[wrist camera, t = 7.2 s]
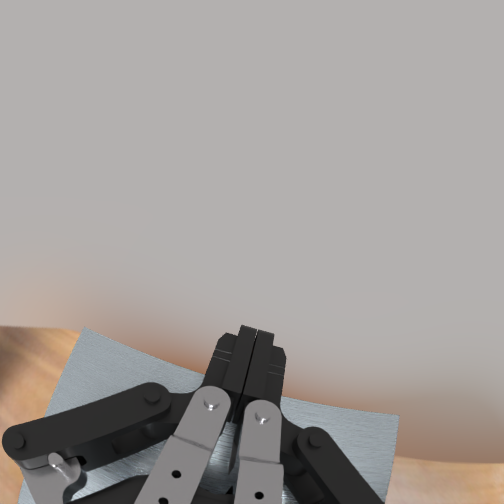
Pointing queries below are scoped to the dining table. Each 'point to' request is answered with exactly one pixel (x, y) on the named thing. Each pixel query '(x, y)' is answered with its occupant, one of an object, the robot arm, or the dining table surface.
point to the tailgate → (184, 381)
